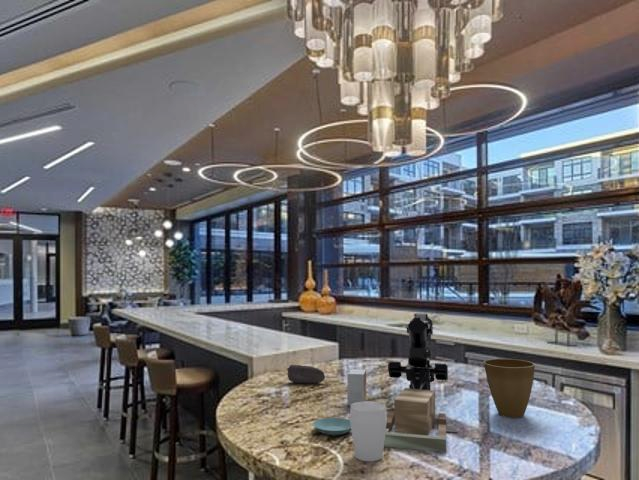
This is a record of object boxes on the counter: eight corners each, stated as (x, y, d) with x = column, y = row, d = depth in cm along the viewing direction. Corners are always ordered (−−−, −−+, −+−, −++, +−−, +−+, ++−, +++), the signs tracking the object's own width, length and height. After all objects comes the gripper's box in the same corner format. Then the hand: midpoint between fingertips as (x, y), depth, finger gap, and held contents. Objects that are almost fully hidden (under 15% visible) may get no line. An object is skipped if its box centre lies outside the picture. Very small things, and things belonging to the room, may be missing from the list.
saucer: (313, 424, 140) (313, 416, 141) (354, 425, 140) (354, 417, 140) (312, 439, 129) (312, 430, 129) (355, 439, 128) (355, 430, 128)
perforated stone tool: (326, 382, 191) (326, 365, 192) (323, 385, 186) (323, 367, 187) (290, 380, 195) (290, 363, 195) (286, 383, 190) (286, 366, 190)
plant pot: (533, 409, 153) (532, 359, 154) (538, 424, 139) (537, 368, 140) (485, 405, 158) (483, 356, 159) (485, 419, 144) (483, 365, 145)
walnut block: (405, 417, 146) (404, 388, 147) (435, 421, 143) (434, 390, 143) (394, 432, 133) (394, 399, 134) (427, 436, 130) (426, 402, 130)
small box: (364, 406, 158) (364, 374, 158) (347, 405, 159) (347, 373, 159) (366, 400, 166) (366, 369, 166) (350, 399, 167) (350, 368, 167)
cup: (347, 450, 120) (347, 401, 121) (382, 448, 121) (382, 400, 122) (353, 464, 111) (352, 412, 112) (391, 463, 112) (390, 411, 113)
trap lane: (379, 415, 148) (379, 405, 148) (456, 421, 142) (455, 410, 143) (366, 444, 124) (366, 433, 124) (458, 453, 118) (458, 440, 118)
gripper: (388, 336, 156) (384, 378, 145) (446, 338, 152) (448, 381, 140) (391, 356, 163) (387, 397, 152) (447, 358, 159) (448, 401, 147)
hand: (417, 394), depth 148 cm, fingers closed
